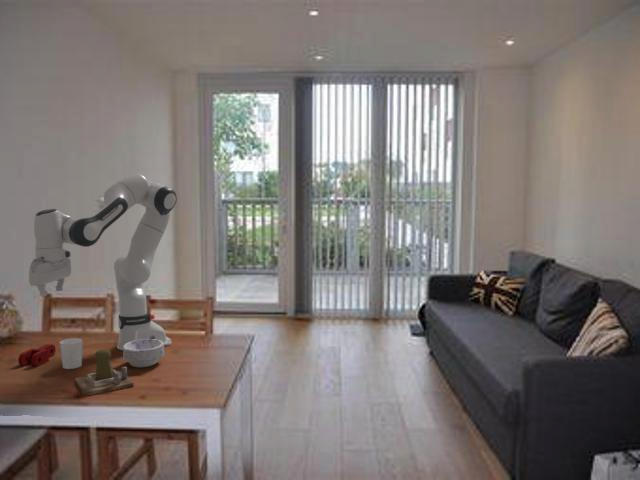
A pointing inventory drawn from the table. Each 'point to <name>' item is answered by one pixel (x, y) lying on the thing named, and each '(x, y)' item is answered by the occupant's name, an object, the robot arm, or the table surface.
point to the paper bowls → (143, 352)
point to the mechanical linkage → (37, 355)
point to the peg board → (104, 382)
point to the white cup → (71, 353)
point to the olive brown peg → (103, 365)
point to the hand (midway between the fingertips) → (51, 293)
